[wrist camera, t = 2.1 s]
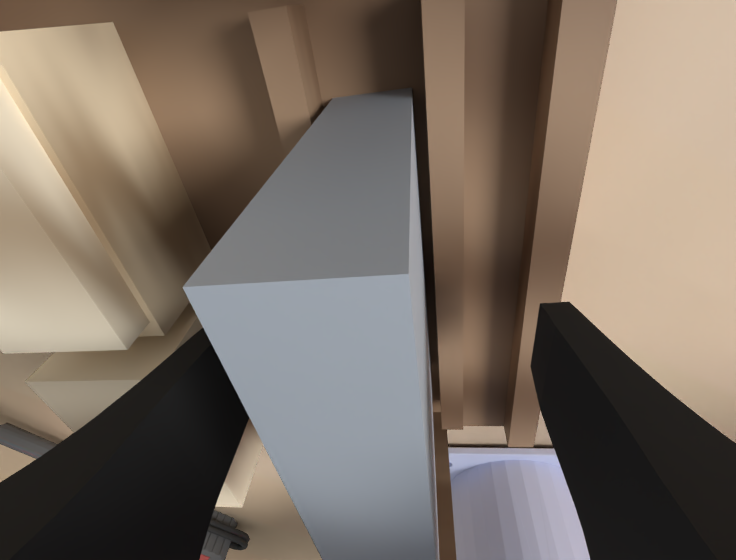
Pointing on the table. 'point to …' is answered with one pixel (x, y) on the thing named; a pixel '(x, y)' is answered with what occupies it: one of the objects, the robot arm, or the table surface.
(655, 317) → the table surface
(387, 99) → the grey rectangular slab
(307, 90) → the walnut rack
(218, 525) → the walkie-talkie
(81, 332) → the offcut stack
